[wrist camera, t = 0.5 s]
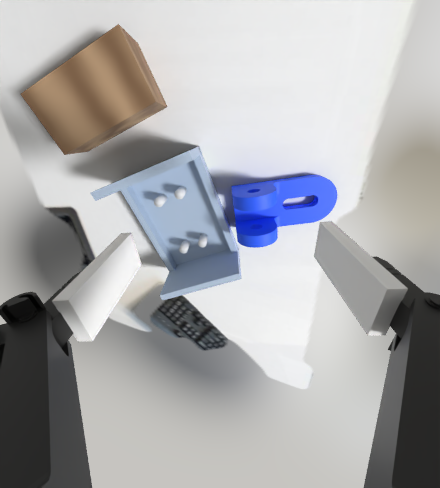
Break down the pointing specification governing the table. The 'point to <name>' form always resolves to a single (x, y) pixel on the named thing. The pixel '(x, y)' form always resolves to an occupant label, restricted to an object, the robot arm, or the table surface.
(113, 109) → the brown wooden block
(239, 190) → the bracket
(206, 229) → the frame
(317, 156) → the table surface
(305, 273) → the table surface
